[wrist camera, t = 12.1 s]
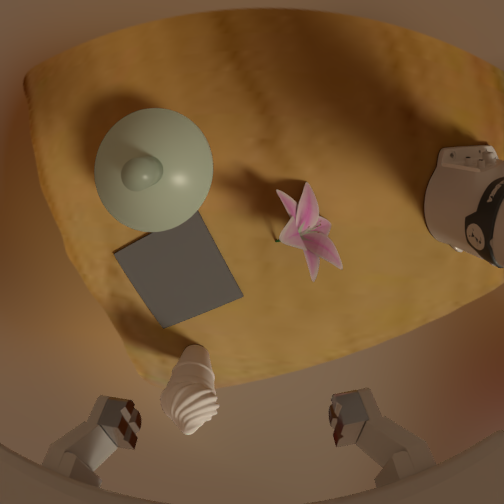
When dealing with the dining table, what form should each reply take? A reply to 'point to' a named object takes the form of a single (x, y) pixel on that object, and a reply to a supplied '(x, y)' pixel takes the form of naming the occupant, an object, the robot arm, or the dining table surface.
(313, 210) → the lily
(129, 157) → the lid
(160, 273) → the mat
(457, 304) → the dining table surface
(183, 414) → the soft serve ice cream cone
